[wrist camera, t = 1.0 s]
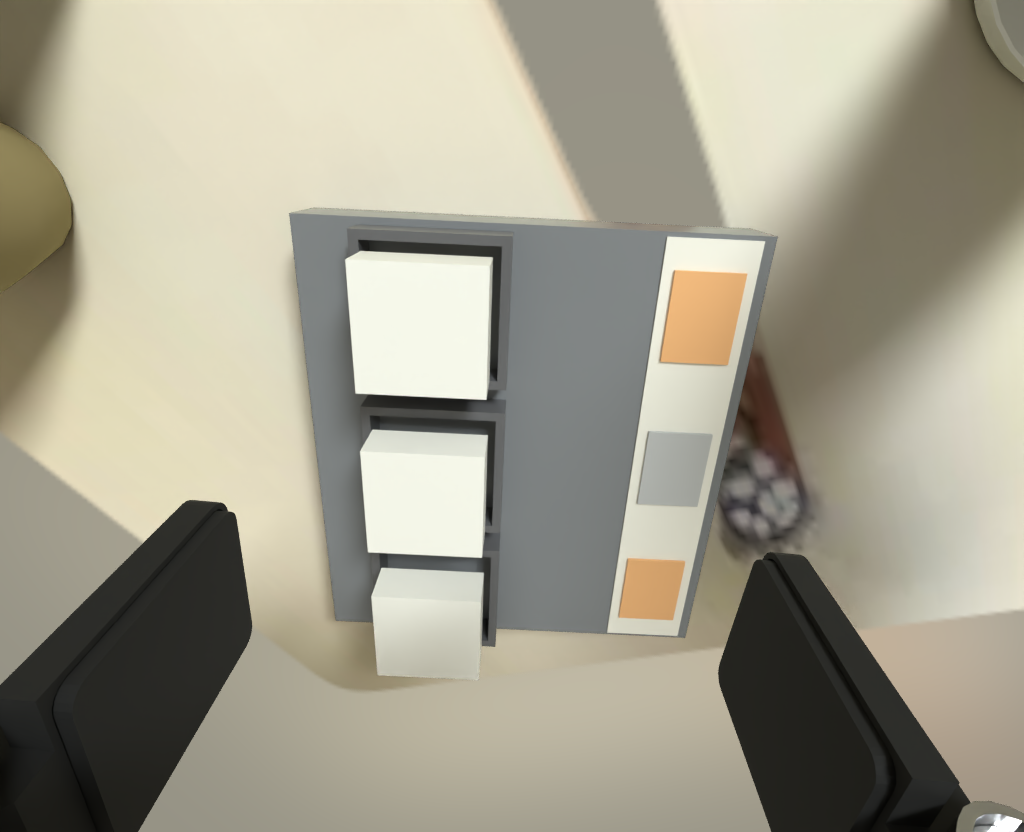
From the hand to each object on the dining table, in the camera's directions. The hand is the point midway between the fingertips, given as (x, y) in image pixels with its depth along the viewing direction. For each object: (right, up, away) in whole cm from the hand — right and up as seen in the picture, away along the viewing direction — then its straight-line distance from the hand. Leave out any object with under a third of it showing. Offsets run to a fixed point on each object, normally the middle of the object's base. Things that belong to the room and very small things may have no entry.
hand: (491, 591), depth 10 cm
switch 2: (-3, 0, +15) cm, 15 cm away
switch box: (+1, +2, +20) cm, 20 cm away
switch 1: (-3, +7, +12) cm, 14 cm away
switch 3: (-4, -7, +18) cm, 20 cm away
